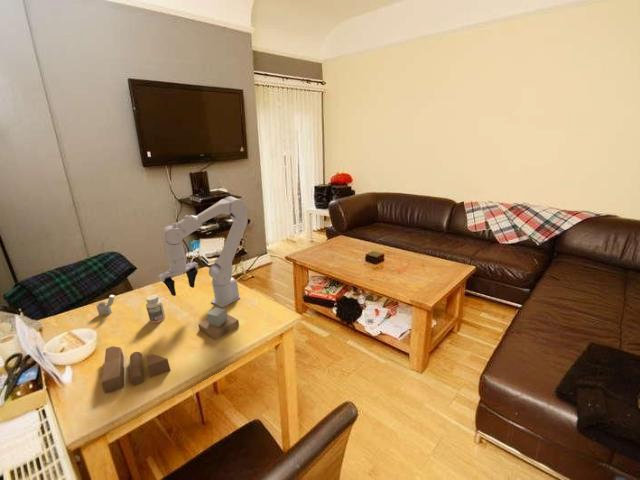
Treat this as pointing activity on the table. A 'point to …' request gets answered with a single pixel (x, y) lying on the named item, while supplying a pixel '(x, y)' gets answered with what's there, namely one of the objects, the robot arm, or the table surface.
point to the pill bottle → (155, 309)
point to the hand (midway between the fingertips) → (183, 290)
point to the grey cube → (217, 317)
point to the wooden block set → (115, 368)
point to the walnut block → (218, 331)
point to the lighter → (105, 306)
